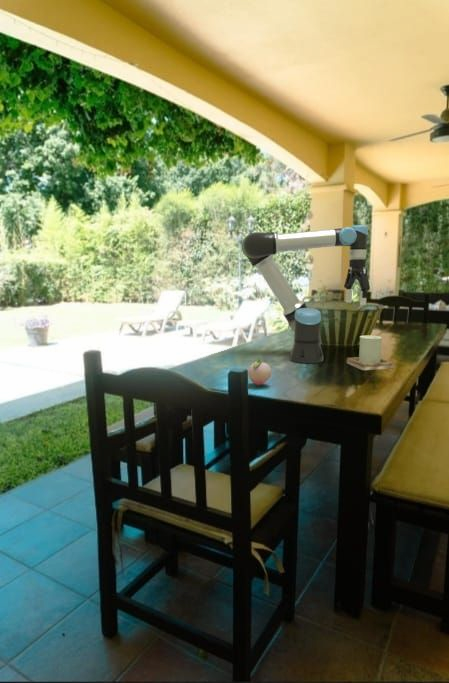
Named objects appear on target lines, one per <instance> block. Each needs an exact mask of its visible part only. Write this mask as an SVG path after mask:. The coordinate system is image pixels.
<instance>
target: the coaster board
mask: <svg viewBox="0 0 449 683" xmlns="http://www.w3.org/2000/svg"><path fill="white" fill-rule="evenodd" d="M346 364H348V365H350V366H351V367H354V368H357V369H358V370H362V371H372V370H388V369H389V370H390V369H391V370H393V369H394V362H391V361H390V360H389V361H388V360H387V359H384V358H381V359H380V363H369V364H364V363H361V362H359V356H358V357H355V356H354V357H346Z"/></svg>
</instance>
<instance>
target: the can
mask: <svg viewBox="0 0 449 683" xmlns="http://www.w3.org/2000/svg"><path fill="white" fill-rule="evenodd" d="M382 340H383V337H382V336H380V335H367V334H366V335H360V336H359V352H358V357H359V362H361V363H364V364H369V363H380V359H382V358H381V356H382Z"/></svg>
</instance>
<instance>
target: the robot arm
mask: <svg viewBox="0 0 449 683" xmlns="http://www.w3.org/2000/svg"><path fill="white" fill-rule="evenodd" d="M367 243H368V226H367V225H363V224H362V225H360V224H359V225H358V224H357V225H351V227H350V226H346V227H345V226H344V227H340V228H331V229H321V230H309V231H299V232H298V231H297V232H289V233H288V232H287V233H279V234H277V233H276V232H259V231H258V232H257V231H256V232H251V233H250V234H248V235H247V236H245V237H244V238H243V240H242V242H241V253H243V255H244V257H246V258H247V260H248V262H249V263H250V264H251V266H252V267H253V268H257V269H258V271H259V273H260V274H261V276H262V277H263V279H264V280H265V283H266V284H267V285H268V287H269V289H270V290H271V292H272V293H273V295H274V296H275V298H276V299H277V301H278V303H279V304H280V306H281V307H282V309H283V313H282V314H283V317H284V318H285V320H286V321H287V323H288V326H289V328H290V329H291V330H293V334H294V336H293V338H294V339H293V345H292V349H291V352H290V353H289V360H290V361H291V362H294V363H297V364H319V363H322V362H324V352H323V351H322V348H321V326H322V325H321V322H322V316H321V314H322V313H321V311H320V310H318V309H316V308H312V307H308V306H307V304H306V303H305V301H303V300H300V299H299V297H298V296H297V295H296V292H295V291H294V290H293V288H292V287H291V284H290V282H289V281H288V279H287V278H286V276H285V275H284V273H283V272H282V270H281V268H280V267H279V266H278V264H277V262H276V261H275V259H274V255H277V254H278V253H279V252H288V251H298V250H299V251H301V250H309V249H320V248H329V247H349V261H348V262H349V263H348V264H349V268H348V269H347V275H346V278H345V282H344V285H343V287H344V289H346V290H345V291H346V292H345V294H346V296H345V297H346V298H345V303H352V302H353V285H355V282H356V280H357V281H358V284H359V286H360V294H359V296H360V297H359V305H360V306H366V305H367V294H368V291H369V290H371V287H370V281H369V277H368V269H367V268H366V265H367V264H366V263H367V259H366V258H367V247H368V246H367ZM364 268H366V269H364Z"/></svg>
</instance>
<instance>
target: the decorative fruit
mask: <svg viewBox="0 0 449 683" xmlns="http://www.w3.org/2000/svg"><path fill="white" fill-rule="evenodd" d="M247 374H248V378H249V380H250V381H251V382H252V384H254V385H256V386H257V387H260V386H261V385H263V384H265V383H267V382H268V381H269V380H270V379H271V376H272V369H271V366H270V365H269V364H268V363H266V362H264V361H263V360H261V359H260V358H259V359H258V360H257V361H255V362H253V363H252V364H251V365H250V366H249V368H248V371H247Z"/></svg>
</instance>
